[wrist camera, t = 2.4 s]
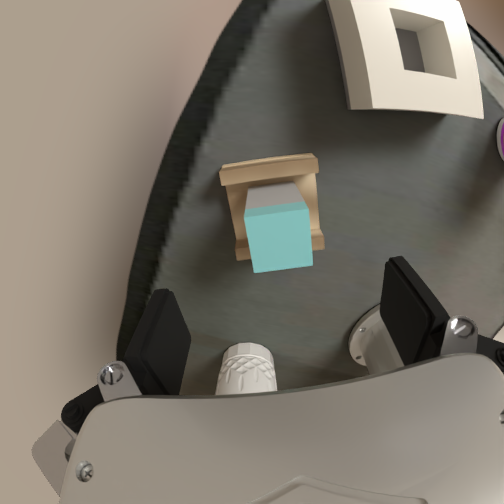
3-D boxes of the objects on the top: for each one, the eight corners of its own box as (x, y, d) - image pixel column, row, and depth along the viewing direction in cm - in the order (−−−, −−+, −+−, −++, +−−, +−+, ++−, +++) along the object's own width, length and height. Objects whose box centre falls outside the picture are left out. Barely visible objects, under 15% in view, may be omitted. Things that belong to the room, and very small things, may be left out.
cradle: (318, 236, 27) (324, 249, 24) (239, 247, 28) (237, 261, 25) (310, 152, 23) (317, 157, 20) (223, 164, 24) (218, 170, 21)
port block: (447, 114, 20) (483, 119, 15) (347, 109, 21) (373, 108, 16) (428, 14, 15) (458, 1, 9) (324, -2, 16) (340, -28, 10)
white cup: (274, 336, 33) (277, 402, 24) (278, 372, 37) (281, 431, 28) (213, 340, 34) (202, 404, 25) (225, 375, 38) (219, 433, 29)
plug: (298, 222, 25) (312, 265, 18) (255, 227, 26) (254, 273, 18) (293, 180, 23) (308, 208, 16) (248, 186, 24) (243, 217, 17)
